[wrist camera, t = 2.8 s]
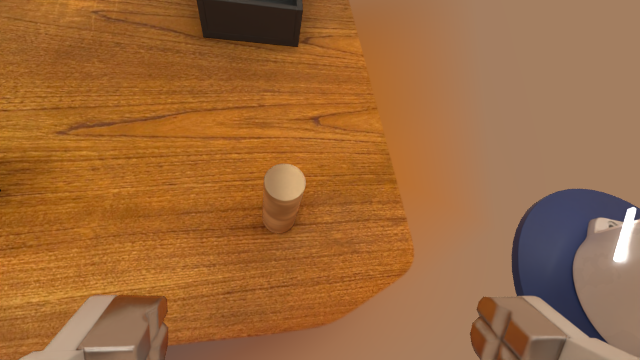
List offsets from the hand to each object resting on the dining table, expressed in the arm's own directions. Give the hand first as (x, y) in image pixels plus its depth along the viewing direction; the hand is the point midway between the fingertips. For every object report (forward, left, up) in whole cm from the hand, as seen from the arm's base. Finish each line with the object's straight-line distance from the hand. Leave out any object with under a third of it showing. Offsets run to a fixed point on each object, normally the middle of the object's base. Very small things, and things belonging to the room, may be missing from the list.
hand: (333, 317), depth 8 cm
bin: (+4, -46, -25) cm, 52 cm away
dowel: (0, -12, -25) cm, 28 cm away
